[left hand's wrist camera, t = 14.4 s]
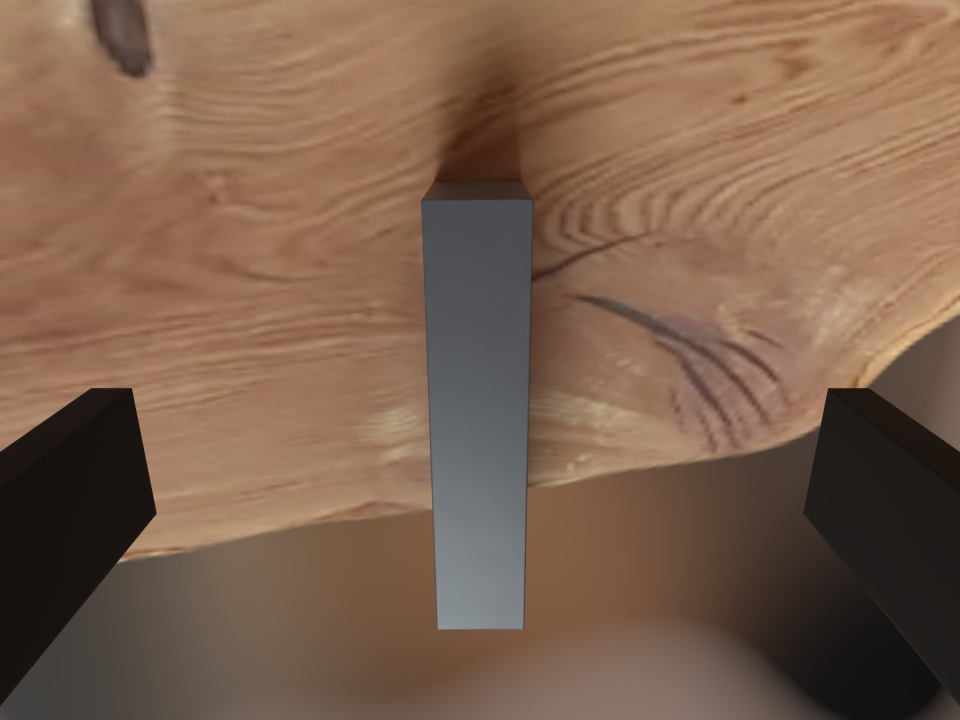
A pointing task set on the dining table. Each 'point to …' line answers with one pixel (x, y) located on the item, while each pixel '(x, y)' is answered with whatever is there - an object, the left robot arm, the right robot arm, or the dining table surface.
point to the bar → (478, 396)
